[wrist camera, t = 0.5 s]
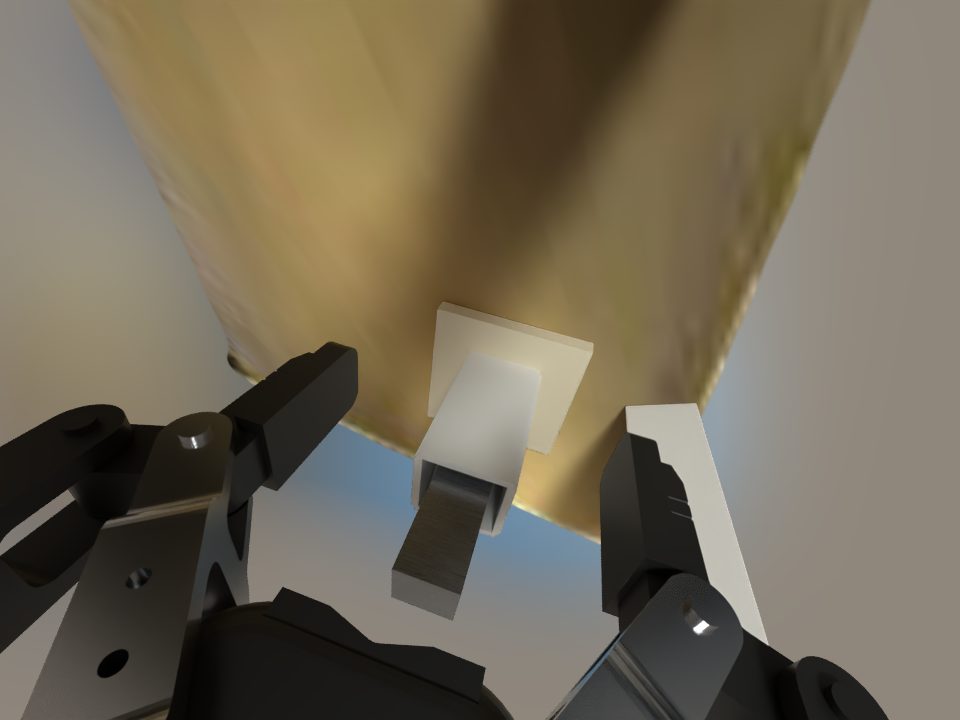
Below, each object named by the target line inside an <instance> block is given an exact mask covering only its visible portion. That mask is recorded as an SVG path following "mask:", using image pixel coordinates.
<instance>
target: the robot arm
mask: <svg viewBox="0 0 960 720" xmlns="http://www.w3.org/2000/svg"><path fill="white" fill-rule="evenodd" d="M357 393H358V355H357V351H356V349H354V348H351V347H348V346H345V345H341V344H338V343H335V342H328V343H326V344H325V345H324V346H322V347H321V348H320V349H318V350H317V351H316V352H315V353H310V352H308V353H306V354H303V355H300V356H298V357H295V358H292V359H290V360H289V361H288V362H286V363H285V364H284V365H282V366H281V367H280V368H278V369H277V371H276V372H275V371H274V372H273V373H271V374H270V375H269V376H267V377H266V379H265V380H262V381H261V382H259V383H258V384H257V385H255V386H254V387H253V388H251V389H250V390H248V391H247V392H246V393H244V394H243V395H242V396H240V397H239V398H238V399H236V400H235V401H234V402H232V403H231V404H230V405H228V406H227V407H226V408H224V409H223V410H222V411H220V412H219V413H215V412H199V413H194V414H190V415H186V416H183V417H181V418H179V419H176V420H175V421H173V422H171V423H170V424H168V425H167V426H155V425H137V424H130V423H129V421H128V419H127V417H126V415H125V413H124V412H123V410H122V409H120V408H119V407H116V406H113V405H106V404H98V405H88V406H83V407H79V408H75V409H72V410H69V411H66V412H63V413H61V414H59V415H57V416H55V417H53V418H51V419H49V420H47V421H46V422H44V423H42V424H40V425H39V426H37V427H35V428H33V429H31V430H29V431H28V432H26V433H24V434H22V435H21V436H19V437H17V438H15V439H13V440H12V441H10V442H8V443H6V444H4V445H3V446H1V447H0V542H1V541H2V539H3V538H4V537H5V536H6V534H8V533H9V532H10V531H11V530H12V529H13V528H14V527H16V526H17V525H19V524H20V523H21V522H23V521H24V520H26V519H27V518H28V517H30V516H31V515H32V514H34V513H35V512H37V511H38V510H39V509H40V508H42V507H44V506H45V505H46V504H48V503H49V502H51V501H52V500H53V499H55V498H56V497H57V496H59V495H60V494H62V493H63V492H64V491H66V490H67V489H68V490H69V492H70V493H71V494H72V496H73V497H74V499H75V500H74V501H73V502H71V503H70V504H69V505H67V506H66V507H65V508H63V509H62V510H61V511H59V512H58V513H57V514H56V515H54V516H53V517H51V518H50V519H49V520H47V521H46V522H45V523H43V524H42V525H41V526H39V527H38V528H37V529H36V530H34V531H33V532H31V533H30V534H29V535H28V536H26V537H25V538H24V539H22V540H21V541H20V542H18V543H17V544H16V545H14V546H13V547H12V548H10V549H9V550H8V551H6V552H5V553H4V554H2V555H1V556H0V653H1V652H2V651H4V650H5V649H6V648H7V647H8V646H9V645H10V644H11V643H12V642H13V641H14V640H15V639H16V638H18V637H19V636H20V635H21V634H22V633H23V632H24V631H25V630H26V629H27V628H28V627H29V626H31V625H32V624H33V623H34V622H35V621H36V620H37V619H38V618H39V617H40V616H41V615H42V614H44V613H45V612H46V611H47V610H48V609H49V608H50V607H51V606H52V605H53V604H54V603H55V602H57V601H58V600H59V599H60V598H61V597H62V596H63V595H64V594H65V593H66V592H67V591H68V590H70V589H71V588H72V587H73V586H74V585H75V584H76V583H77V582H78V581H79V582H78V584H77V587H76V589H75V592H74V594H73V596H72V599H71V601H70V604H69V606H68V608H67V611H66V613H65V615H64V618H63V620H62V623H61V625H60V627H59V630H58V632H57V635H56V637H55V639H54V642H53V644H52V647H51V649H50V651H49V654H48V656H47V659H46V661H45V663H44V666H43V668H42V670H41V673H40V675H39V678H38V680H37V682H36V685H35V687H34V690H33V692H32V694H31V697H30V699H29V702H28V704H27V706H26V709H25V711H24V714H23V717H22V718H21V720H514V719H513V717H512V716H511V714H510V713H509V712H508V711H507V709H506V708H505V706H504V705H503V703H502V702H501V701H500V700H499V699H498V698H497V697H496V696H495V695H494V694H493V693H492V692H491V691H490V690H489V689H488V688H486V687H485V686H484V685H483V679H484V673H485V667H482V666H480V665H477V664H475V663H472V662H470V661H467V660H465V659H462V658H460V657H457V656H455V655H452V654H450V653H447V652H445V651H442V650H440V649H437V648H435V647H426V646H412V645H395V644H380V643H375V642H372V641H371V640H369V639H368V638H367V637H366V636H364V635H363V634H362V633H361V632H360V631H359V630H357V629H356V628H355V627H354V626H353V625H352V624H350V623H349V622H348V621H347V620H346V619H345V618H343V617H342V616H341V615H340V614H339V613H338V612H337V611H335V610H334V609H333V608H332V607H331V606H329V605H327V604H324V603H322V602H319V601H317V600H314V599H312V598H309V597H307V596H304V595H302V594H299V593H297V592H294V591H292V590H289V589H286V588H284V587H282V589H281V590H280V592H279V593H278V594H277V596H276V597H275V599H274V600H273V602H269V601H267V602H254V603H249V586H248V577H247V564H248V554H249V542H250V531H251V519H252V507H253V496H252V494H253V493H254V492H255V491H256V490H257V489H258V488H259V487H260V486H264V487H267V488H270V489H273V490H275V491H277V490H279V488H280V487H281V486H282V485H283V484H284V483H285V482H286V480H287V479H288V478H289V477H290V476H291V475H292V474H293V473H294V472H295V470H296V469H297V468H298V467H299V466H300V465H301V464H302V462H303V461H304V460H305V459H306V458H307V457H308V456H309V455H310V453H311V452H312V451H313V450H314V449H315V448H316V447H317V446H318V444H319V443H320V442H321V441H322V440H323V439H324V438H325V437H326V435H327V434H328V433H329V432H330V431H331V430H332V429H333V428H334V426H335V425H336V424H337V423H338V422H339V421H340V420H341V419H342V417H343V416H344V415H345V414H346V413H347V412H348V411H349V410H350V408H351V407H352V406H353V404H354V402H355V400H356V397H357ZM600 524H601V568H602V611H603V612H606V613H608V614H611V615H614V616H617V617H619V633H618V634H617V635H616V636H615V638H614V639H613V640H612V641H611V643H610V644H609V645H608V646H607V647H606V648H605V650H604V651H603V652H602V653H601V654H600V656H599V657H598V658H597V659H596V660H595V662H594V663H593V664H592V665H591V666H590V668H589V669H588V670H587V671H586V672H585V674H584V675H583V676H582V677H581V679H580V680H579V681H578V682H577V683H576V684H575V686H574V687H573V688H572V689H571V691H570V692H569V693H568V694H567V695H566V696H565V697H564V699H563V700H562V701H561V702H560V703H559V704H558V706H557V707H556V708H555V709H554V710H553V711H552V712H551V713H550V715H549V716H548V717H547V718H546V719H545V720H889V719H888V718H887V716H886V715H885V713H884V712H883V710H882V708H881V707H880V706H879V705H878V703H877V702H876V700H875V699H874V698H873V697H872V696H871V695H870V694H869V692H868V691H867V690H866V689H865V688H864V687H863V686H862V685H861V684H860V683H859V682H858V681H857V680H856V679H855V678H854V677H852V676H851V675H850V674H849V673H847V672H846V671H845V670H843V669H842V668H841V667H839V666H837V665H836V664H834V663H832V662H830V661H828V660H826V659H823V658H820V657H815V656H808V657H805V658H802V659H801V660H799V661H797V662H795V663H794V662H792V661H791V660H789V659H788V658H786V657H785V656H783V655H782V654H780V653H779V652H777V651H776V650H774V649H773V648H771V647H770V646H768V645H767V644H765V643H764V642H762V641H761V640H759V639H758V638H756V637H755V636H753V635H752V634H750V633H749V632H748V631H746V630H745V629H744V628H743V627H741V624H740V621H739V619H738V617H737V615H736V613H735V611H734V609H733V608H732V606H731V605H730V603H729V602H728V601H727V600H726V599H725V597H724V596H723V595H722V594H721V593H720V592H719V591H718V590H717V589H716V588H714V587H713V586H712V585H711V584H710V582H709V578H708V574H707V571H706V567H705V563H704V559H703V555H702V552H701V548H700V544H699V540H698V536H697V533H696V529H695V525H694V521H693V520H692V514H691V510H690V506H689V505H688V498H687V495H686V491H685V487H684V483H683V482H682V480H681V479H680V477H679V476H678V474H677V473H676V471H675V470H674V468H673V467H672V465H669V464H666V463H663V462H661V459H660V454H659V450H658V445H657V442H656V441H655V440H653V439H649V438H646V437H643V436H639V435H636V434H633V433H629V432H626V433H624V434H623V436H622V437H621V439H620V441H619V443H618V445H617V447H616V448H615V450H614V452H613V454H612V456H611V458H610V459H609V461H608V463H607V465H606V467H605V469H604V471H603V474H602V478H601V483H600Z"/></svg>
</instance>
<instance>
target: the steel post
mask: <svg viewBox="0 0 960 720" xmlns="http://www.w3.org/2000/svg"><path fill="white" fill-rule="evenodd" d="M492 485H493V483H492V482H489V481H486V480H483V479H480V478H477V477H474V476H471V475H468V474H465V473H462V472H459V471H456V470H453V469H450V468H447V467H444V466H441V465H438V467H437V470H436V472H435V474H434V476H433V479H432V481H431V483H430V485H429V487H428V490H427V492H426V494H425V496H424V499H423V501H422V503H421V505H420V508H419V510H418V512H417V514H416V517H415V519H414V521H413V523H412V526H411V528H410V530H409V532H408V534H407V537H406V539H405V541H404V544H403V546H402V548H401V550H400V552H399V555H398V557H397V559H396V561H395V563H394V566H393V568H392V597H393V598H396V599H398V600H401V601H404V602H406V603H408V604H411V605H414V606H416V607H419V608H421V609H424V610H426V611H429V612H432V613H434V614H437V615H439V616H442V617H444V618H447V619H450V620H453V618H454V615H455V612H456V608H457V605H458V602H459V599H460V596H461V592H462V589H463V585H464V582H465V578H466V575H467V571H468V568H469V565H470V561H471V558H472V554H473V551H474V547H475V544H476V540H477V537H478V533H479V530H480V526H481V523H482V519H483V516H484V512H485V509H486V505H487V502H488V498H489V495H490V491H491V488H492Z"/></svg>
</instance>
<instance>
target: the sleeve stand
mask: <svg viewBox="0 0 960 720" xmlns="http://www.w3.org/2000/svg"><path fill="white" fill-rule="evenodd" d="M592 354H593V343H591V342H587V341H583V340H580V339H576V338H573V337H569V336H566V335H562V334H558V333H555V332H551V331H548V330H544V329H541V328H537V327H533V326H530V325H526V324H523V323H519V322H515V321H512V320H508V319H505V318H501V317H498V316H494V315H490V314H487V313H483V312H480V311H476V310H473V309H469V308H465V307H462V306H458V305H455V304H451V303H448V302H444V301H443V302H442V304H441V305H440V306H439V307H438V309H437V319H436V329H435V340H434V350H433V361H432V371H431V381H430V392H429V402H428V413H427V416H428V417H431V418H434V420H433V422H432V424H431V426H430V427H429V429H428V431H427V433H426V435H425V437H424V439H423V441H422V443H421V445H420V446H419V448H418V450H417V452H416V454H415V456H414V466H413V467H414V468H413V480H412V494H411V504H413V505H414V509H415V510H419V508H420V505H421V503H422V501H423V499H424V496H425V494H426V492H427V490H428V487H429V485H430V483H431V481H432V479H433V476H434V474H435V472H436V470H437V467H438V465H441V466H444V467H447V468H450V469H453V470H456V471H459V472H462V473H465V474H468V475H471V476H474V477H477V478H480V479H483V480H486V481H489V482H492V483H493V485H492V488H491V491H490V495H489V498H488V502H487V505H486V509H485V512H484V516H483V519H482V523H481V526H480V530H479V532H480V533H483V534H485V535H488V536H491V537H495V534H497V535H500V532H501V530H502V527H503V524H504V522H505V519H506V517H507V514H508V511H509V509H510V506H511V504H512V501H513V499H514V496H515V493H516V491H517V486H518V482H519V477H520V473H521V468H522V464H523V459H524V455H525V450H526V448H528V449H531V450H534V451H537V452H540V453H544V454H547V455H549V453H550V451H551V449H552V446H553V444H554V442H555V439H556V437H557V435H558V432H559V430H560V428H561V426H562V423H563V421H564V419H565V416H566V414H567V412H568V409H569V407H570V405H571V402H572V400H573V398H574V396H575V393H576V391H577V389H578V386H579V384H580V382H581V379H582V377H583V375H584V372H585V370H586V368H587V366H588V363H589V361H590V359H591V356H592Z"/></svg>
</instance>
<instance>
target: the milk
mask: <svg viewBox="0 0 960 720" xmlns="http://www.w3.org/2000/svg"><path fill="white" fill-rule="evenodd" d="M625 409H626V424H627V432H629V433H633V434H636V435H639V436H643V437H646V438H649V439H653V440H655V441H656V442H657V445H658V450H659V454H660V459H661V462H663V463H666V464H669V465H672V467H673V468H674V470H675V471H676V473H677V474H678V476H679V477H680V479H681V480H682V482H683V483H684V487H685V491H686V495H687V498H688V505H689V506H690V510H691V514H692V520H693V521H694V525H695V529H696V533H697V536H698V540H699V544H700V548H701V552H702V555H703V559H704V563H705V567H706V571H707V574H708V578H709V582H710V584H711V585H712V586H713V587H714V588H716V589H717V590H718V591H719V592H720V593H721V594H722V595H723V596H724V597H725V599H726V600H727V601H728V602H729V603H730V605H731V606H732V608H733V609H734V611H735V613H736V615H737V617H738V619H739V621H740V624H741V627H743V628H744V629H745V630H746V631H748V632H749V633H750V634H752V635H753V636H755V637H756V638H758V639H759V640H761V641H762V642H764V643H765V644H767V645H768V646H769V644H768V641H767V638H766V634H765V631H764V628H763V625H762V621H761V618H760V615H759V611H758V608H757V605H756V601H755V598H754V594H753V591H752V588H751V584H750V581H749V578H748V574H747V571H746V568H745V564H744V561H743V558H742V554H741V551H740V548H739V544H738V541H737V538H736V534H735V531H734V528H733V524H732V521H731V518H730V515H729V511H728V508H727V504H726V501H725V498H724V494H723V491H722V488H721V484H720V481H719V477H718V474H717V471H716V467H715V464H714V461H713V457H712V454H711V451H710V447H709V444H708V441H707V437H706V434H705V431H704V427H703V424H702V421H701V417H700V414H699V411H698V407H697V404H696V403H686V404H663V405H639V406H626V407H625Z"/></svg>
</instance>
